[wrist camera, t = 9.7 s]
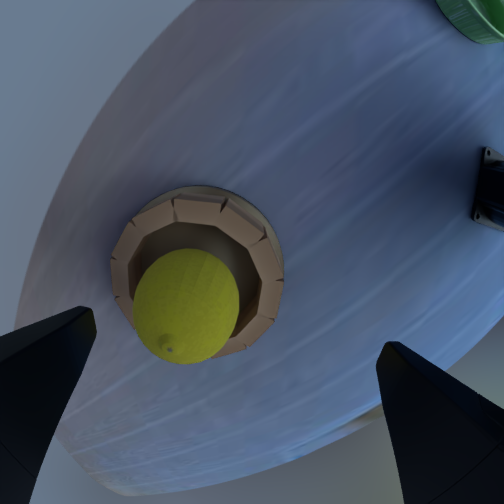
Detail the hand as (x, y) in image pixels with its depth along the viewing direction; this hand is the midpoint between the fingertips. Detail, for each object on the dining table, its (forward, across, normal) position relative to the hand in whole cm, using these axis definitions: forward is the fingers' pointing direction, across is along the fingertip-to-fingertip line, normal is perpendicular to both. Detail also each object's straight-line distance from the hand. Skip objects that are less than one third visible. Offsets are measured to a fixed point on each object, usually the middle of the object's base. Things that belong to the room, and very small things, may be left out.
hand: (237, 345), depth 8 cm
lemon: (+11, +3, +3) cm, 11 cm away
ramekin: (+12, -16, -24) cm, 31 cm away
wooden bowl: (+12, +3, +3) cm, 12 cm away
